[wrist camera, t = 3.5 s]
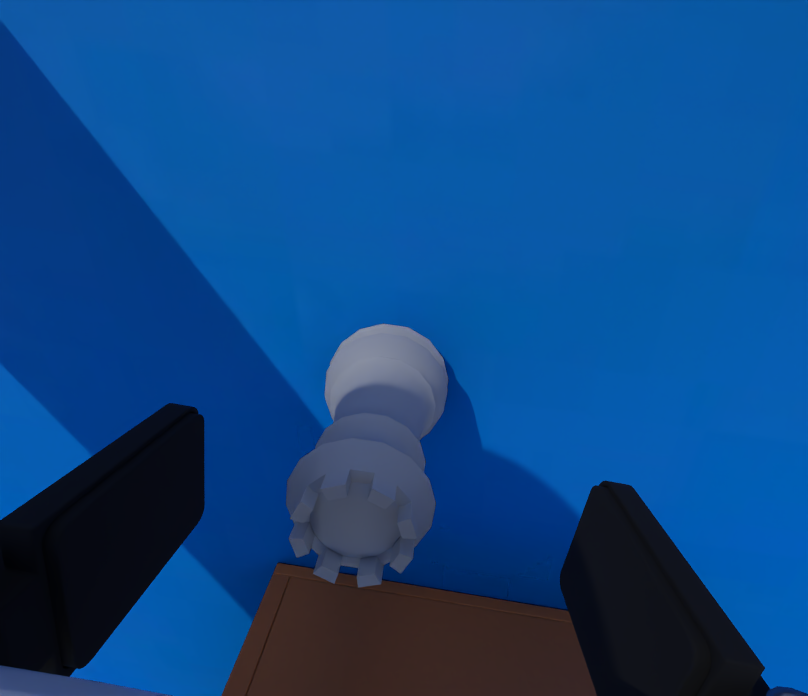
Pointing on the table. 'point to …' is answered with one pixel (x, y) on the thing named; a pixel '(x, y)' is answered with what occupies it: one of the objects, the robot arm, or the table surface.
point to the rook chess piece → (370, 456)
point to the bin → (402, 643)
